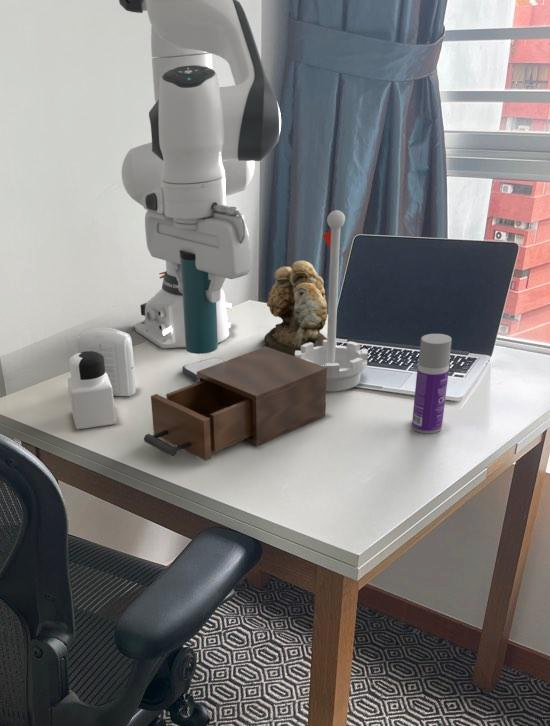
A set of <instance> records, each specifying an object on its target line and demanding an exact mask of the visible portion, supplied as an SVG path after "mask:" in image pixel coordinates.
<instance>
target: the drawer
mask: <svg viewBox="0 0 550 726" xmlns="http://www.w3.org/2000/svg"><path fill="white" fill-rule="evenodd" d="M150 404H151V405H150V406H151V417H152V428H153V434H150V433H146V434H145V435H144V437H143V442H144V443H146V444H147V445H150V446H151V447H153V448H154V449H157V450H159V451H160V452H162V453H164V454H166V455H167V456H170V457H172V458H173V457H175V456H177V454H178V452H180V451H182V450H184V451H185V452H187V453H190V454H191V455H193V456H195V457H197V458H199V459H201V460H203V461H205V462H207V461H209V460H212V452H214V453H216V452H218V451H220V450H223V449H225V448H227V447H229V446H232V445H235V444H237V443H239V442H241V441H244V439H246V438H248V437H251V436H253V404H252V399H250V398H247V397H245V396H242V395H240V394H238V393H235V392H233V391H230V390H228V389H226V388H223V387H221V386H218V385H216V384H214V383H211V382H209V381H206V380H202V381H200V382H197V381H196V382H195V383H192V384H189V385H186V386H184V387H182V388H179V389H176V390H174V391H171V392H167V393H166V397H164V396H162V395H159V394H157V393H155V394H152V395H150ZM160 438H161V439H163V440H161V439H160ZM164 440H165V441H164ZM169 443H170V444H169ZM171 444H172V445H171ZM173 445H174V446H173Z"/></svg>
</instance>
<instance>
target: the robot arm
mask: <svg viewBox="0 0 550 726" xmlns="http://www.w3.org/2000/svg"><path fill="white" fill-rule="evenodd" d="M118 3H119V5H120V6H121V8H122V9H124V10H125V11H127V12H130V13H138V14H143V12H147V17H148V20H149V22H150V28H151V29H150V33H151V34H150V48H151V49H150V50H151V51H150V52H151V66H152V67H151V68H152V79H153V80H152V81H153V95H154V96H153V97H154V105H153V106H152V107H151V109H150V110H149V112H148V119H149V123H150V134H151V142H147V143H144V144H141V145H138V146H135V147H132V148H130V149H129V150H128V151H127V153H126V154H125V157H124V158H123V162H122V165H121V180H122V185H123V188H124V190H125V191H126V193H127V194H128V196H129V197H130V198H131V199H132V200H134V202H136V203H138V204H139V205H141V206H142V207H143V208H144V210H146V212H145V215H144V231H145V241H146V248H147V251H148V252H149V254H150V256H151V257H152V258H155V259H159V260H162V261H165V268H166V269H165V271H163V272H159V273H158V274H159V275H161V276H159V279H163V280H162V284H161V289H160V290H158V291H157V293H156V294H154V295H153V296H152V297H151V298H150V299H149V300H148V301H147V302H144V303H142V304H140V306H139V307H140V315H141V316H144V320H142V321H140V322H139V323H137V324H136V325H135V326H134V329H135V330H134V331H136V333H138V334H140V335H141V336H143V337H144V338H146V339H148V341H150V342H152V343H153V344H154V345H156V346H158V347H159V348H161V349H175V348H185V349H186V344H185V328H184V311H183V295H182V278H181V262H180V250H181V251H185V252H189V253H192V254H195V256H196V260H195V265H196V268H197V269H198V270H200V271H204V272H207V273H208V278H209V280H211V283H210V286H209V289H205V295H206V296H205V299H206V301H209V302H212V303H215V302H216V308H217V335H218V344H219V343H222V342H224V341H226V340H227V339H228V338H229V337H230V336H231V335H230V334H231V333H230V329H231V328H232V323H231V321H230V320H229V318H228V310H227V308H232V303H229V302H226V296H225V292H224V290H223V288H222V287H223V286H224V283H225V280H226V279H229V280H235V279H238V278H241V277H244V276H246V275H248V274H249V273H250V271H251V269H252V266H253V265H252V263H253V262H252V251H251V243H250V241H251V240H250V235H249V230H248V227H247V224H246V218H245V217H244V215H243V214H242V213H241V212H240V209H239V208H237V207H236V206H228V205H227V197H228V196H231V195H235V194H237V193H240V192H243V191H245V190H246V189H247V188H248V186H249V185H250V183H251V182H252V179H253V177H254V174H255V167H256V165H255V163H256V162H260V161H262V160H263V159H264V158H265V157H266V156H268V154H270V153H271V152H272V151H273V149H274V148H275V147H276V146H277V145H278V143H279V141H280V135H281V128H282V116H281V110H280V106H279V103H278V100H277V97H276V94H275V91H274V89H273V87H272V85H271V83H270V82H269V79H268V77H267V74H266V70H265V68H264V65H263V61H262V58H261V56H260V52H259V50H258V46H257V43H256V40H255V37H254V33H253V31H252V28H251V25H250V22H249V20H248V17H247V15H246V12H245V10H244V7H243V6H242V4H241V2H240V1H238V0H118ZM213 55H215V56H218V57H219V58H222V59H223V60H224V61H225V62H226V63H228V65H229V68H230V72H231V75H232V78H233V82H234V85H229V86H220V84H219V78H218V75H217V72H216V71H215V70H214V67H213V66H214V65H213Z"/></svg>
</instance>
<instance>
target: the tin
mask: <svg viewBox="0 0 550 726" xmlns="http://www.w3.org/2000/svg"><path fill="white" fill-rule="evenodd" d="M195 260H196V256H195V254H192V253H189V252H185V251H181V250H180V262H181V278H182V295H183V311H184V328H185V344H186V348H185V350H186V352H188V353H190V354H196V355H204V354H209V353H213V352H215V351H217V350H218V349H219V343H218V335H217V308H216V302H215V303H212V302H209V301H206V299H205V296H206V295H205V289H209V286H210V283H211V280H209V278H208V273H207V272H204V271H200V270H198V269H197V268H196V265H195Z"/></svg>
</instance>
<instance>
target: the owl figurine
mask: <svg viewBox="0 0 550 726" xmlns="http://www.w3.org/2000/svg"><path fill="white" fill-rule="evenodd" d="M316 271H317V270H316V269H315V267H314V265H313V264H312V263H311V262H310V261H306V260H296V261H294V262H293V263H292V265H291V266H282V267H279V268H278V269H276V270H275V272H274V275H273V276H274V280H275V283H274V284H273V285H272V287H271V290H270V291H269V292H268V301H267V302H266V306H267V307H269V312H270V314H271V315H273V317H275V318H277V317H278V318H279V319H281V321H282V322H280V323H277V324H275V327H273V328H271V329H270V330H269V331H268V332H266V334H265V336H264V338H263V339H264V347H265V346H266V347H269V348H272V349H275V350H277V351H280V352H283V353H286V354H289V355H292V356H295V351H301V345H304V344H306V343H309V342H311V343H313V344H314V347H317V346H323V340H327V336H326V335H324V334H323V333H321V331H322V330H323V329H324V327H325V325H326V321H327V320H328V303H327V302H328V301H327V300H326V295H325V294H326V290H325V287H324V286H325V285H324V284H325V281H324V279H323V277H322V276H320V275H319V274H318V273H317V272H316Z"/></svg>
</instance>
